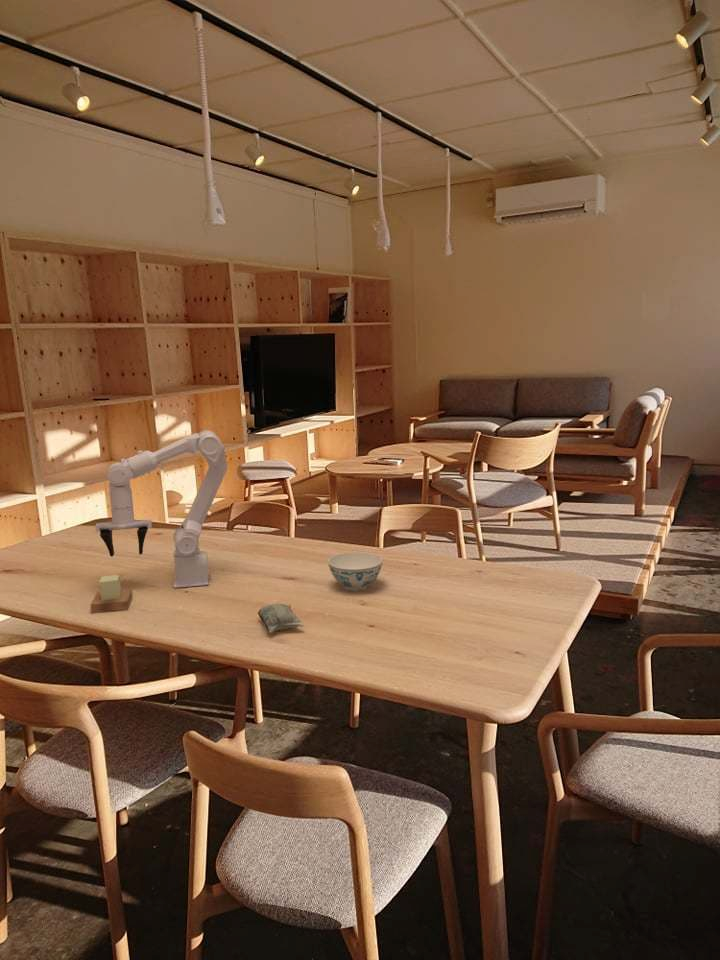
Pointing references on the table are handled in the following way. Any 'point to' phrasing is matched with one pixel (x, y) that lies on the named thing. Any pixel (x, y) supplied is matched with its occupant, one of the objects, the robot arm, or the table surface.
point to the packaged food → (279, 617)
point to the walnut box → (112, 603)
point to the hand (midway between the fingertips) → (126, 554)
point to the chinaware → (355, 569)
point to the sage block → (110, 587)
